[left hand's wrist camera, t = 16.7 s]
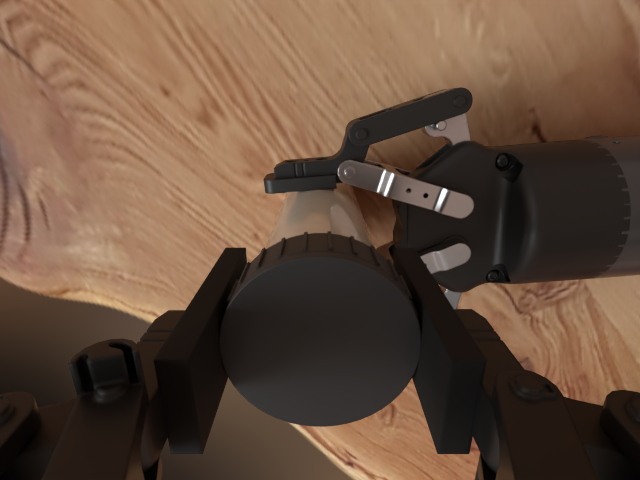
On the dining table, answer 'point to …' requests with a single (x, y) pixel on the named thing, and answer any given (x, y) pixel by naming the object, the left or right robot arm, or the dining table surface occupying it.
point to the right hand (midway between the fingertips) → (274, 232)
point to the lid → (320, 331)
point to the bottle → (321, 215)
